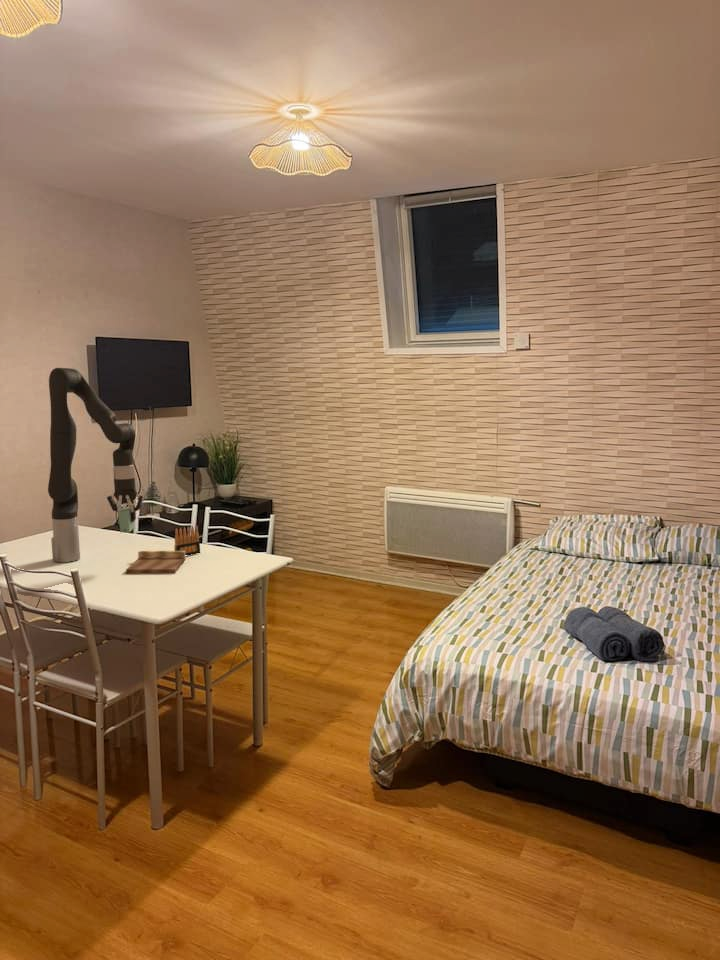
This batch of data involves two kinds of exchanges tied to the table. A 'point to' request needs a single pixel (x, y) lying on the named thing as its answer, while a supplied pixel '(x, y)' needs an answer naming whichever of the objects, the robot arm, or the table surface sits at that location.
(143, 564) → the walnut board
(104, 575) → the table surface
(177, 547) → the ammunition clip
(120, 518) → the green rectangular block
